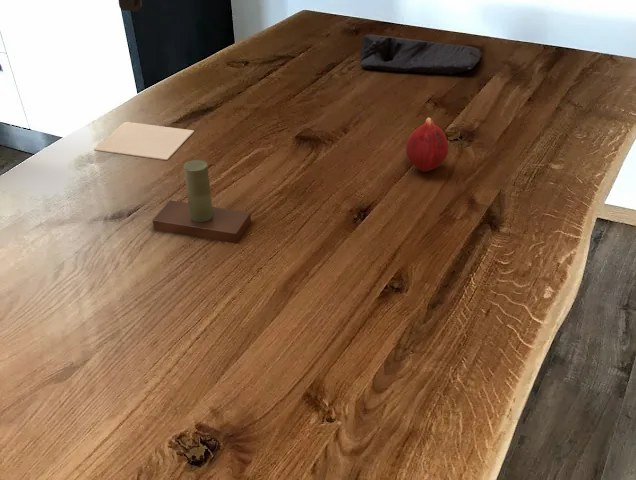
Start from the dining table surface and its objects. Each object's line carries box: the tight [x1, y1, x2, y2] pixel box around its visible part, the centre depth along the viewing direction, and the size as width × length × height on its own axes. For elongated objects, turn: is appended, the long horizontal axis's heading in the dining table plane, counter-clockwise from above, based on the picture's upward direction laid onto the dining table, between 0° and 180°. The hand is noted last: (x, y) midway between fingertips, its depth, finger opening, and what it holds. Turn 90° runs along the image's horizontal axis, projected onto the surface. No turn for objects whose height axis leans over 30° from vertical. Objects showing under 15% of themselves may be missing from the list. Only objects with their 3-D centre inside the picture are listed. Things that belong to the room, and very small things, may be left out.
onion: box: [405, 117, 449, 173], centre depth 102 cm, size 6×6×8 cm
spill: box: [93, 121, 195, 161], centre depth 112 cm, size 12×10×1 cm
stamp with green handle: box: [152, 159, 252, 244], centre depth 89 cm, size 11×5×10 cm, turn 74°
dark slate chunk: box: [359, 34, 482, 75], centre depth 136 cm, size 15×22×5 cm
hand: (142, 0), depth 78 cm, fingers open, 8 cm apart
